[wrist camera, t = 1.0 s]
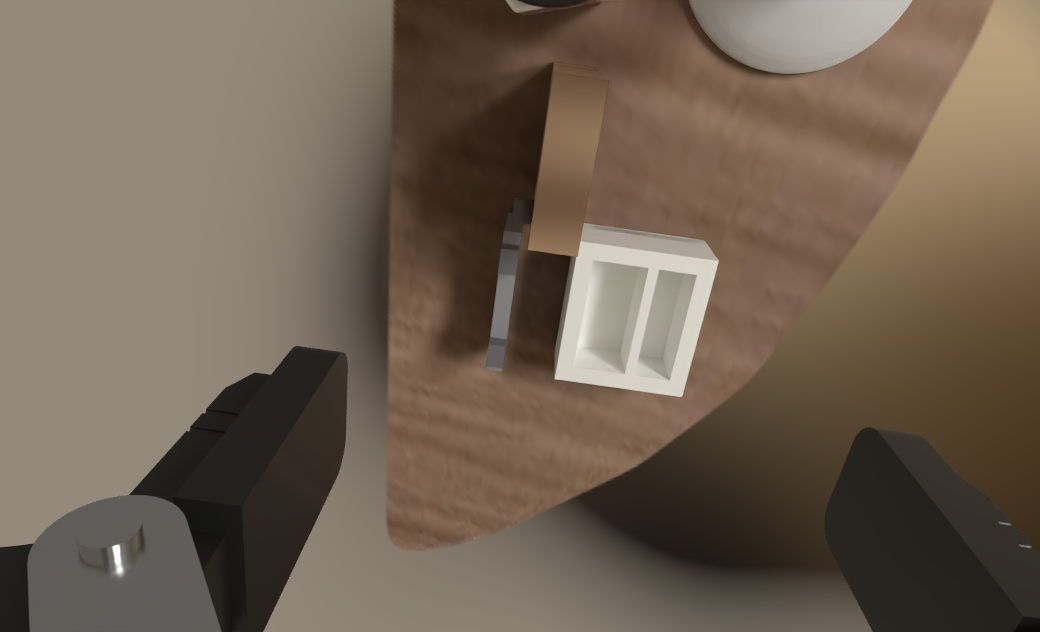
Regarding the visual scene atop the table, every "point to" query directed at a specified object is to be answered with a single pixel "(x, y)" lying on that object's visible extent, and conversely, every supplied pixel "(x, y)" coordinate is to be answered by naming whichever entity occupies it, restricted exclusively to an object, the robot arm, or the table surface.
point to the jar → (546, 5)
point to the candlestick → (795, 30)
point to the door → (565, 160)
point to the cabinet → (619, 308)
